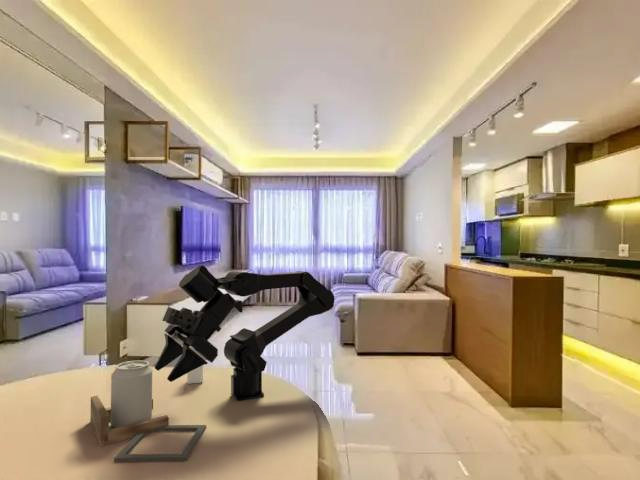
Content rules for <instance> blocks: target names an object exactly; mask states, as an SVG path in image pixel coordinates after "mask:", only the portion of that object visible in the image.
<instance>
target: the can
mask: <svg viewBox="0 0 640 480" xmlns="http://www.w3.org/2000/svg"><path fill="white" fill-rule="evenodd" d="M149 365H150V362H149V361H148V360H139V359H138V360H129V361H123V362H121V363H118V364H117V365H115V367H114V368H115V369H114V371H113V372H111V376H110V379H111V380H110V381H111V382H110V407H111V419H110V422H109V425H111V426H112V427H114V428H118V427H122V426H126V425H130V424H134V423H138V422H142V421H145V420H149V419H153V418H152V417H153V409H152V399H153V368H152V367H151V366H149Z"/></svg>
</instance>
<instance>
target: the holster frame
mask: <svg viewBox="0 0 640 480" xmlns="http://www.w3.org/2000/svg"><path fill="white" fill-rule="evenodd" d="M206 429H207V424H169V425H164V426H160V427H157V428H155V431H154V432H194V434H193V435H192V437H191V439H189V441H188V443H187V445H186V446H185V447H184V449H183V450H182V452H181V453H131V452H132V451H133V449H135V447H136V446H137V445H138V444H139V443H140V442H141V441H142V440H143V438H144V437H145V436H146V435H147V434H148V433H147V430H146V431H142V432H138V433H137V434H136V436H135V437H132V438H131V440H130V441H128V442H127V444H126V445H125V446H124V447H123V448H122V449H121V450H120V451H119V452H118V453H117V454H116V455H115V456H114V457H113V462H115V463H116V462H118V463H120V462H121V463H122V462H124V463H125V462H131V463H132V462H135V463H136V462H187V461H188V459H189V457H190V455H191V453H192V452H193V450H194V449H195V448H196V446H197V444H198V443H199V440H200V439H201V438H202V436H203V434H204V433H205V431H206Z"/></svg>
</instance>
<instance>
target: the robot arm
mask: <svg viewBox="0 0 640 480" xmlns="http://www.w3.org/2000/svg"><path fill="white" fill-rule="evenodd" d="M178 287H179V288H180V289H181V290H182V291H184V293H186V294H187V295H188V296H189V297H190V298H191V299H193V300H194V302H196V303H197V304H198V303H202V302H203V303H204V305H202V307H201V308H200V310H192V309H189V308H186V307H182V308H181V309H180V310H179V309H176V308H174V307H170V306H168V307H167V308H166V311H165V313H164V316H163V317H162V321H163V322H165V323H166V324H169V325H168V326H167V327H166V328H165V330H164V332H165V333H164V338H165V345H164V348H163V350H162V352H161V354H160V356H159V358H158V360H157V362H156V363H155V366H154V369H155V370H156V371H160V370H162V369H164V368H165V367H166V366H168V365H169V364H171V363H172V362H173V361H175V360H176V359H178V358H179V359H178V360H177V362H176V364H175V365H174V366H173V368H172V370H171V371H170V373H169V374H168V376H167V378H166V380H168V381H169V382H171V383H172V382H174V381H176V380H178V379H179V378H181V377H183V376H185V375H187V373H188V372H190V371H192V370H194V369H196V368H198V367H200V366H202V365H207V364H208V363H209V362H210V363H213V362H214V361H215V360H216V358H217V357H218V356H219V354H218V351H219V349H218V348H217V347H216V346H215V345H213V344H212V343H211V342H210V341H209V339H211V337H212V335H213V334H214V333H215V332H217V333H219V332H221V330H222V327H221V324H223V322H224V321H225V320H226V319H227V317H228V316H229V315H230V314H231V313H232V312H233V311H235V312H236V313H237V312H238V313H243V306H242V305H243V304H242V303H243V302H242V300H239V299H235V298H234V297H233V296H232V295H234V296H236V297H249V296H252V295H255V294H259V292H263V291H265V290H274V289H285V288H297V291H298V294H299V295H300V296H301V297H300V298H299V300H298V302H297V303H296V304H294V305H293V306H291V307H290V308H288V309H287V310H285V311H284V312H282V313H281V314H279V315H277V316H276V317H274V318H273V319H272V320H270V321H268V322H267V323H265V324H263V325H262V326H260V327H259V328H257V329H255V330H251V329H248V328H245V327H244V328H241V329H240V330H239V331H238V332H236V333H235V334H231V335H229V339H228V340H227V341H226V342H225V343H224V347H223V353H224V357H225V358H226V359H227V360H228V361H229V363H230V366H231V367H233V368H232V369H233V371H232V372H233V373H232V375H230V392H231V394H232V396H233V397H234V398H235V400H237V401H242V400H247V399H249V400H250V399H254V398H260V397H264V396H265V393H264V391H262V389H263V387H262V386H263V385H262V384H263V383H262V382H263V381H262V379H263V377H262V376H263V372H264V371H265V369H266V367H267V363H268V362H267V361H266V360H265V359H264V358H263V357H262V354H263V353H264V351H265V349H266V347H267V346H268V345H270V344H271V343H273V342H274V341H276V340H277V339H279V338H280V337H281V336H283V335H284V334H286V333H288V332H289V331H291V330H292V329H294V328H295V327H296V326H298V325H299V324H301V323H302V322H303V321H305V320H307V319H308V318H310V317H313V316H318V315H322V314H324V313H327V312H328V311H330V310H332V309H333V308H334V307H335V295H334V293H333V291H331V290H329V289H328V288H327V287H326V286H325V285H324V284H322V283H321V282H320V281H318V280H317V279H315V277H314V275H312V274H311V273H310V272H309V271H300V270H297V271H294V272H278V273H277V272H275V273H264V274H263V273H254V272H253V273H252V272H247V271H246V272H245V271H237V270H233V271H229V272H227V274H226V275H225V276H222V277H215V276H214V275H213V274H212V273H211V272H210V271H209V270H208V268H207V267H206V266H205V264H199V265H198V266H197V267H195V268H194V269H192V270H191V271H190V272H188V273H185V275H184V276H183V277H182V278H181V280H180V281H179V283H178ZM220 289H221V290H220ZM222 290H224V291H226V293H223V292H222ZM190 346H191V347H190ZM189 347H190V348H189Z"/></svg>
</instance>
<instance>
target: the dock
mask: <svg viewBox="0 0 640 480" xmlns="http://www.w3.org/2000/svg"><path fill="white" fill-rule="evenodd" d="M153 409H154V399H153V398H152V410H153ZM110 420H111V406H110V407H105V405H104V403H103V401H102V400H101V399H100V397H99V396H98V395H93V396H90V424H91V427H92V428H93V429H92V430H93V432H94V434H95V437H96V439H97V441H98V444H99V446H100V447H102V446H105V445H109V444H112V443H117V442H120V441H124V440H128V439H133V438H134V437H135V436H136V434H137V433H138V432H142V431H146V430H147V434H150V433H153V432H156V431H155V428H157V427H160V426H164V425H170V424H169V423H170V422H169V415H167V414H166V415H162V416H158V417H154V418H151V419H149V420H145V421H142V422H138V423H134V424H130V425H126V426H122V427H118V428H115V427H114V428H110Z"/></svg>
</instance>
